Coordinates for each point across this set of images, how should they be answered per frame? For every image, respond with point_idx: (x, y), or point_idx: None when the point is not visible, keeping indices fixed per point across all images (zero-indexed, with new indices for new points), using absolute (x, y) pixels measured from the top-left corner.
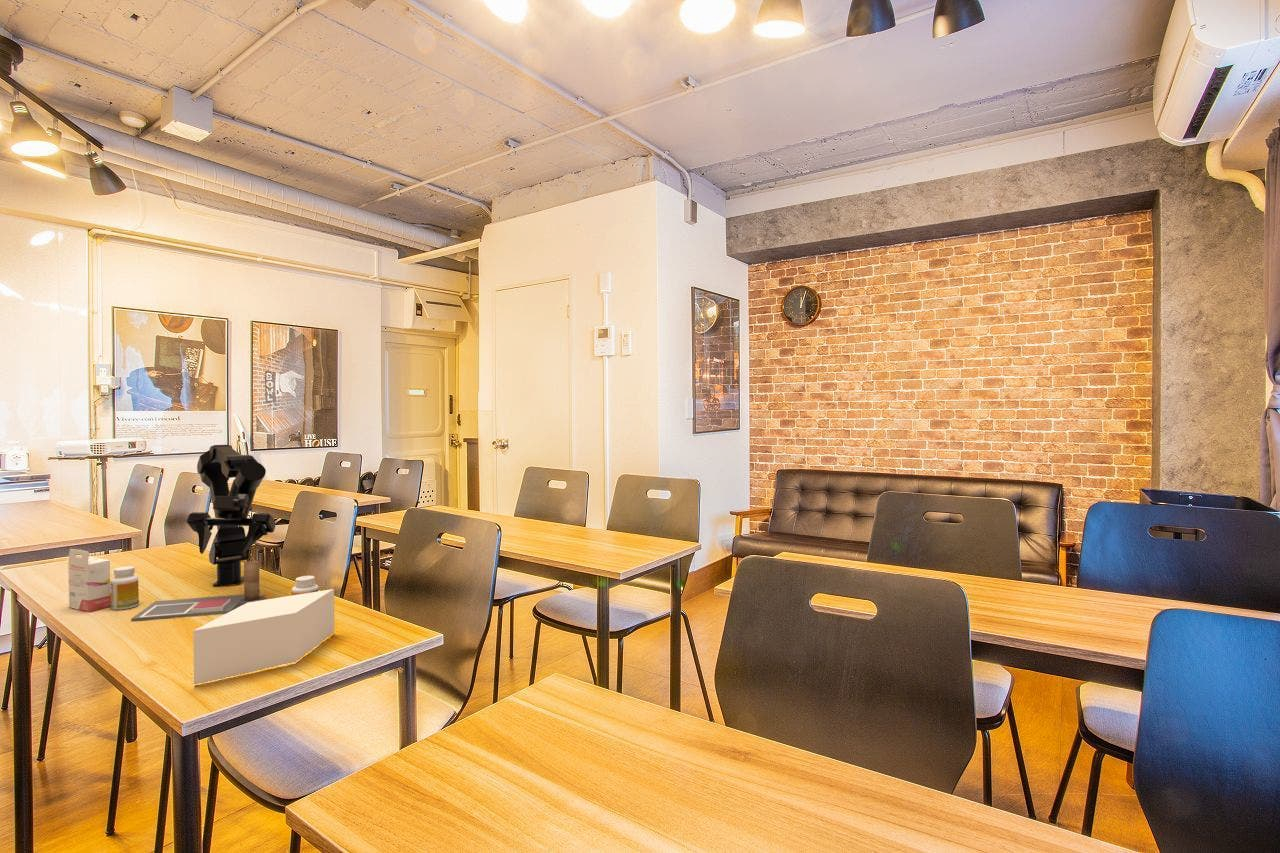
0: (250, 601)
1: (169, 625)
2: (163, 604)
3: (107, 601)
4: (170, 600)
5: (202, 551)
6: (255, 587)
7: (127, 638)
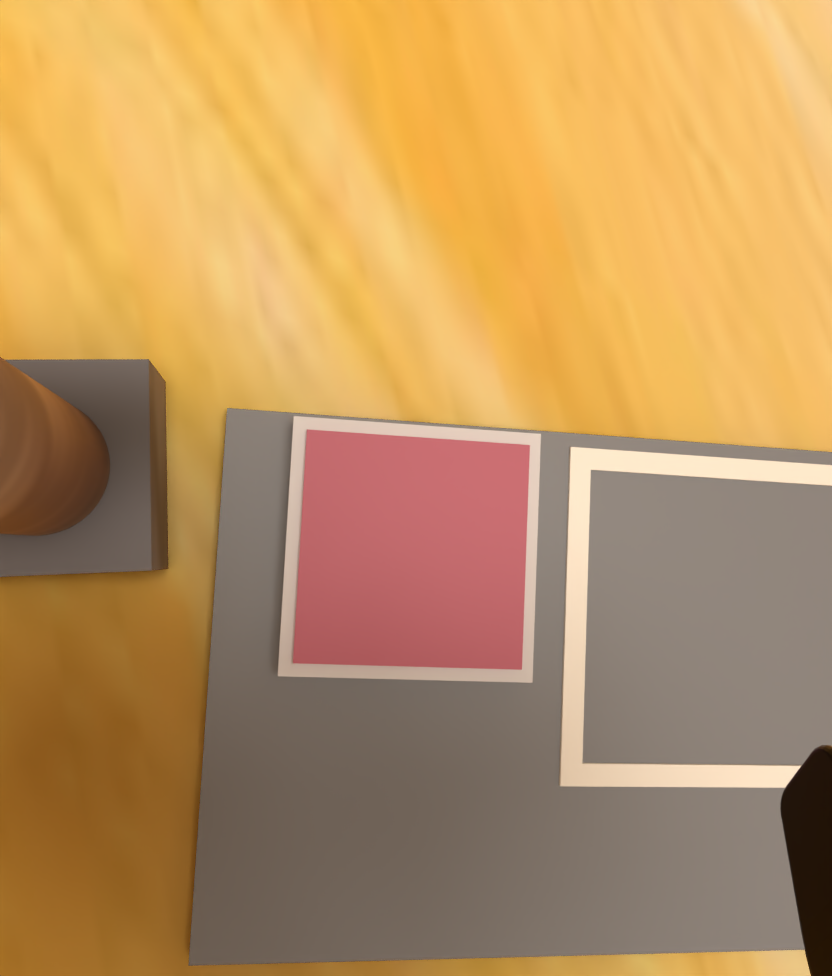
0: (38, 372)
1: (609, 247)
2: None
3: None
4: None
5: (812, 790)
6: None
7: (778, 55)
